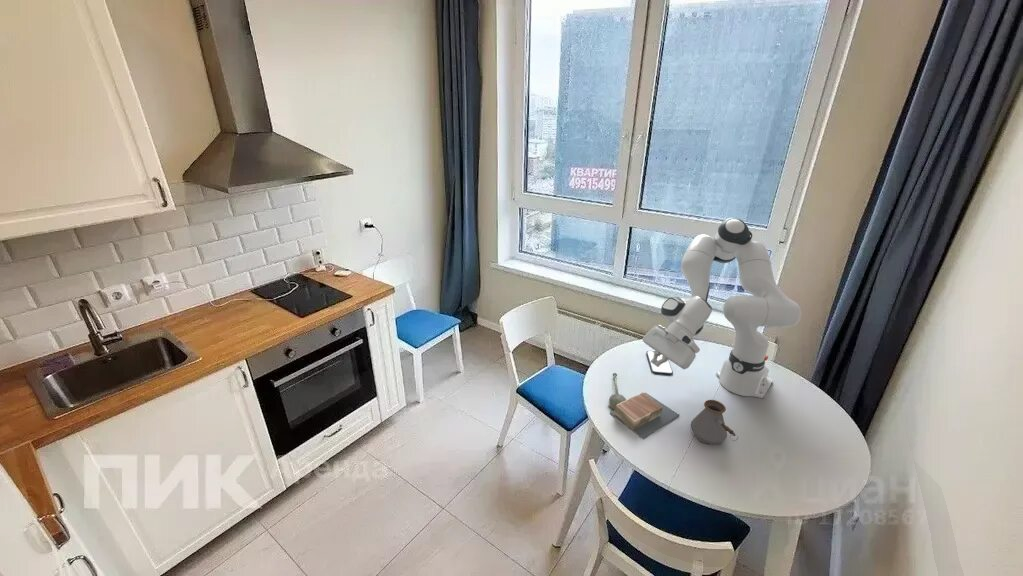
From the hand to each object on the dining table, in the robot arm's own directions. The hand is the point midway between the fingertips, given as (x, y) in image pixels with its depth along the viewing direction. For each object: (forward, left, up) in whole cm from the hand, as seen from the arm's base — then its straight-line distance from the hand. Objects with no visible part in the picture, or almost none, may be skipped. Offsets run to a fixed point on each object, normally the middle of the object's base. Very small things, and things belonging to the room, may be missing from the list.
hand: (654, 364), depth 150 cm
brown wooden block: (+4, +4, -13) cm, 14 cm away
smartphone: (-24, -12, -16) cm, 31 cm away
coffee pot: (+2, +27, -16) cm, 32 cm away
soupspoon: (+7, -9, -16) cm, 20 cm away
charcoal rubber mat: (+8, +5, -16) cm, 18 cm away
